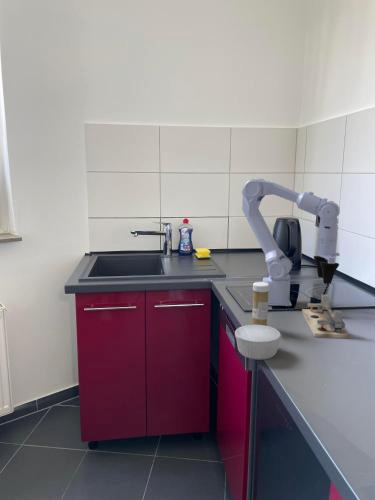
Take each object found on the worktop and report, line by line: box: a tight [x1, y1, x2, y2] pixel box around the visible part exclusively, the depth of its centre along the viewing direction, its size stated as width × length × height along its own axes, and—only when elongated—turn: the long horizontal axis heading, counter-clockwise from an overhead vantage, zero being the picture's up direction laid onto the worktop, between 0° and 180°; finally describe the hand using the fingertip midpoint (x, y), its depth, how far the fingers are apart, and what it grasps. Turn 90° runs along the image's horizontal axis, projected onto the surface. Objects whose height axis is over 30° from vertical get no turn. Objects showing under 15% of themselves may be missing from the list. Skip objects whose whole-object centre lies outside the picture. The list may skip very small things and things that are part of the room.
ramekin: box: [234, 324, 282, 361], centre depth 99 cm, size 11×11×5 cm
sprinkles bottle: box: [251, 281, 269, 326], centre depth 114 cm, size 5×5×14 cm
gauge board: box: [301, 308, 350, 339], centre depth 118 cm, size 9×20×2 cm, turn 174°
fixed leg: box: [317, 309, 346, 331], centre depth 110 cm, size 7×3×5 cm, turn 84°
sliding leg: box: [306, 294, 332, 313], centre depth 125 cm, size 7×3×5 cm, turn 84°
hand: (324, 280), depth 129 cm, fingers open, 7 cm apart
